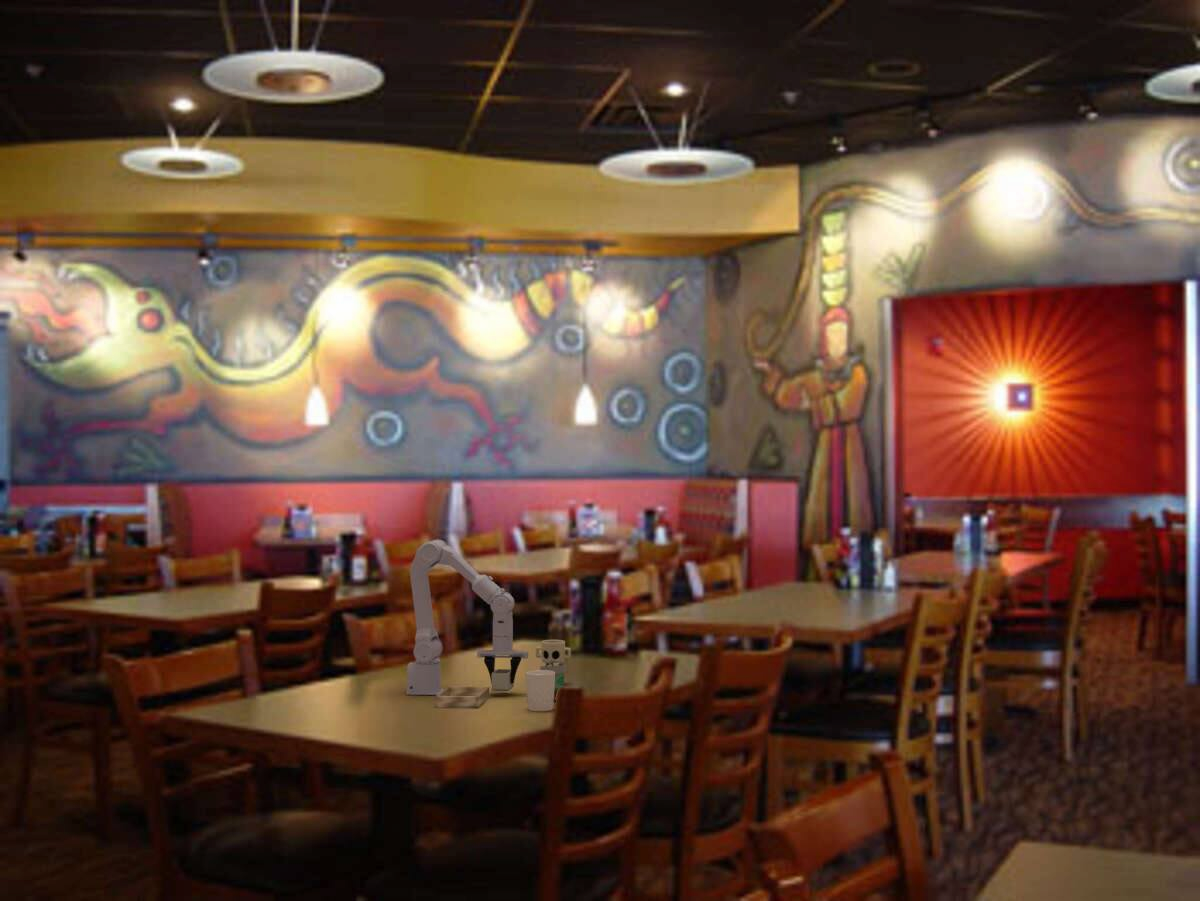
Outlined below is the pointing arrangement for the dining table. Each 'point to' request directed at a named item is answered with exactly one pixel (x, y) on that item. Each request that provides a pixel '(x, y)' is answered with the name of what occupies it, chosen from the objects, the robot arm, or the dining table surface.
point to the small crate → (502, 680)
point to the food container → (556, 673)
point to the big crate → (462, 697)
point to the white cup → (540, 690)
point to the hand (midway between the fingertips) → (502, 683)
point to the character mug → (553, 651)
